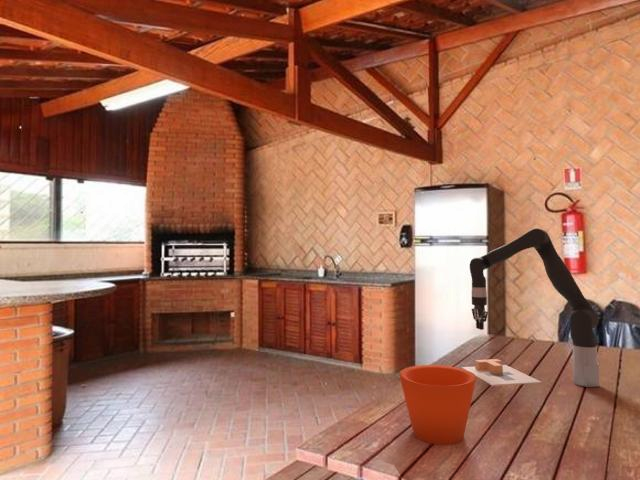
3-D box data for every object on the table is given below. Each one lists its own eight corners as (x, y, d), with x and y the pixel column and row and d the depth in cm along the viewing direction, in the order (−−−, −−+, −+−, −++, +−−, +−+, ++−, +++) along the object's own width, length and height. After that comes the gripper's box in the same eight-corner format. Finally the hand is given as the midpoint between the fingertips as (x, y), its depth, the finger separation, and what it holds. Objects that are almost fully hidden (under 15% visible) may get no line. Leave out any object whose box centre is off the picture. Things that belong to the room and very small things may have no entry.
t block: (510, 373, 218) (510, 365, 218) (487, 374, 216) (486, 366, 216) (497, 366, 230) (497, 359, 230) (475, 368, 228) (475, 360, 228)
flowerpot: (421, 414, 168) (420, 361, 168) (489, 431, 152) (487, 372, 152) (386, 437, 149) (385, 377, 149) (459, 459, 133) (458, 391, 133)
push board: (541, 383, 204) (541, 381, 204) (491, 386, 201) (491, 384, 201) (505, 365, 233) (505, 364, 234) (461, 368, 230) (461, 367, 230)
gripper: (492, 297, 229) (493, 331, 229) (479, 294, 243) (480, 326, 243) (478, 297, 228) (479, 331, 228) (466, 294, 242) (467, 327, 242)
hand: (479, 328), depth 235 cm, fingers closed
